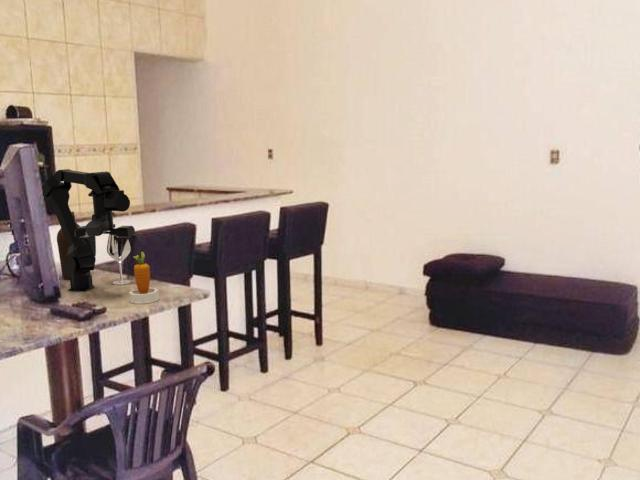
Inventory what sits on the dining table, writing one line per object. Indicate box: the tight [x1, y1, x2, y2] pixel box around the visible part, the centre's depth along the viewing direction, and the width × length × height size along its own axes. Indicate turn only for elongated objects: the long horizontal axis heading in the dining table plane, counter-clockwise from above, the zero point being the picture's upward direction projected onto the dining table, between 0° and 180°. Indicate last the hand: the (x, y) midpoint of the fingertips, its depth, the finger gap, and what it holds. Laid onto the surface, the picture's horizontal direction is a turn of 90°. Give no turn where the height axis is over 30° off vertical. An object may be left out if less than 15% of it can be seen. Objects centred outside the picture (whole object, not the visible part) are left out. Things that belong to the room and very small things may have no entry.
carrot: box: [132, 251, 151, 294], centre depth 198 cm, size 5×5×15 cm
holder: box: [128, 287, 160, 305], centre depth 199 cm, size 9×9×3 cm
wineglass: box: [106, 234, 132, 286], centre depth 223 cm, size 8×8×18 cm
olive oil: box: [56, 211, 86, 281], centre depth 232 cm, size 11×11×25 cm
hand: (107, 256), depth 206 cm, fingers open, 9 cm apart
